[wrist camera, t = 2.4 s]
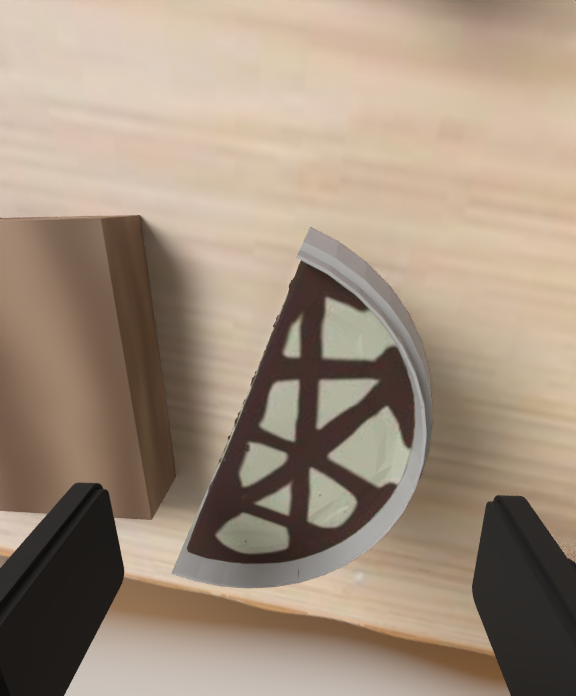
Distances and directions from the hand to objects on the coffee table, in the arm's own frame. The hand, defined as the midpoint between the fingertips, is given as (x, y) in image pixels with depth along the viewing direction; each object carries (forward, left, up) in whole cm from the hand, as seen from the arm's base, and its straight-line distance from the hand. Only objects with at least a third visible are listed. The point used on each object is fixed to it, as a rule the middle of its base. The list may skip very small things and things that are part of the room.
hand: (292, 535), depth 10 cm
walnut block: (+15, 0, -12) cm, 20 cm away
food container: (-1, 0, -12) cm, 12 cm away
